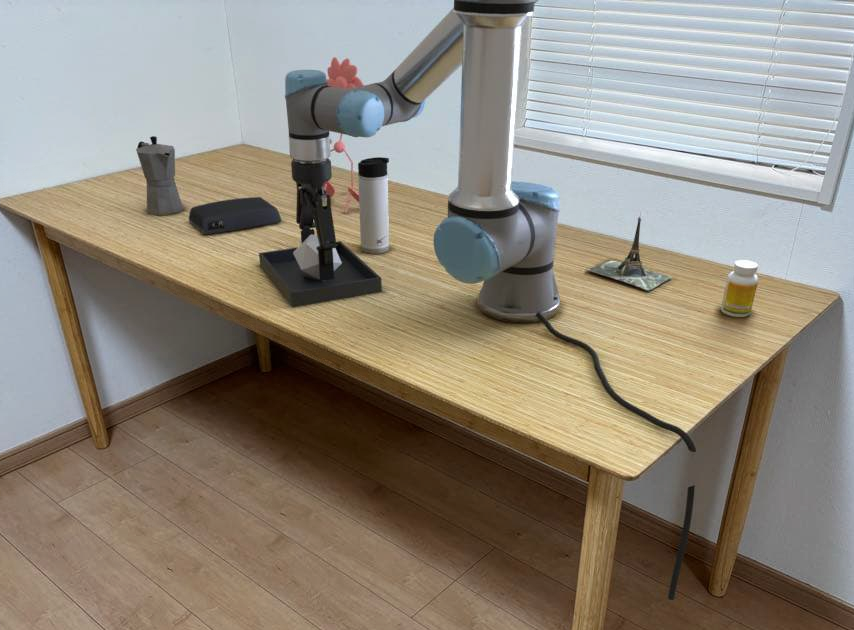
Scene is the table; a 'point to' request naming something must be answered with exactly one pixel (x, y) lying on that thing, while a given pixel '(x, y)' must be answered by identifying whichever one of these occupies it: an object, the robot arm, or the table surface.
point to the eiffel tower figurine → (632, 269)
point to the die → (312, 258)
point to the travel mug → (373, 205)
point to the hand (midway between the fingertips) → (318, 269)
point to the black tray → (304, 290)
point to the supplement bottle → (740, 289)
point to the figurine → (341, 79)
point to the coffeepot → (159, 177)
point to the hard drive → (233, 215)
